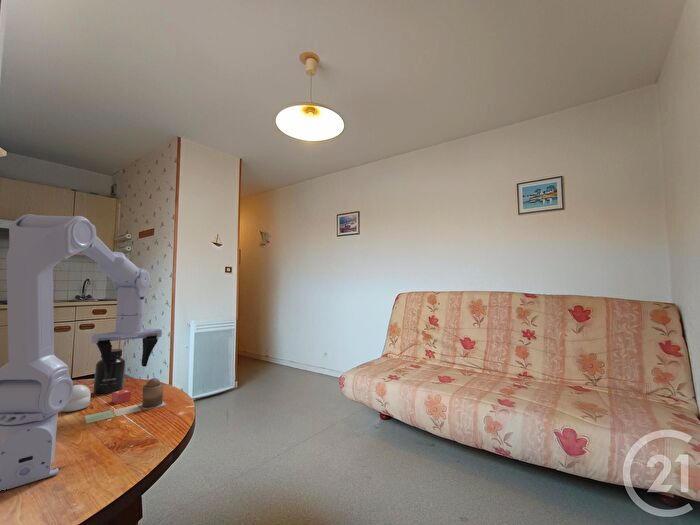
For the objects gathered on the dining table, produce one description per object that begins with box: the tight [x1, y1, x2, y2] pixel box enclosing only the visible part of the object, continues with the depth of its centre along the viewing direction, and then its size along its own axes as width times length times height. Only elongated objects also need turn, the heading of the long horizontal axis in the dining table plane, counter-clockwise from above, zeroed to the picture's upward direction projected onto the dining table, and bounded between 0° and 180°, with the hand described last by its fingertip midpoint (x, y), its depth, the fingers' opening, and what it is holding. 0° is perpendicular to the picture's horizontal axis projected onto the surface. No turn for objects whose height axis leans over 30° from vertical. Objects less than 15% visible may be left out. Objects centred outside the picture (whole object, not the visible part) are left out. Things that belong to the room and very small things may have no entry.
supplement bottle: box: [92, 348, 126, 396], centre depth 89 cm, size 7×7×12 cm
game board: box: [83, 400, 167, 424], centre depth 76 cm, size 11×16×1 cm
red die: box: [111, 388, 132, 405], centre depth 81 cm, size 3×3×3 cm
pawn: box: [141, 377, 164, 409], centre depth 80 cm, size 4×4×6 cm
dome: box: [61, 384, 92, 413], centre depth 76 cm, size 6×6×6 cm
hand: (126, 368), depth 79 cm, fingers open, 7 cm apart
